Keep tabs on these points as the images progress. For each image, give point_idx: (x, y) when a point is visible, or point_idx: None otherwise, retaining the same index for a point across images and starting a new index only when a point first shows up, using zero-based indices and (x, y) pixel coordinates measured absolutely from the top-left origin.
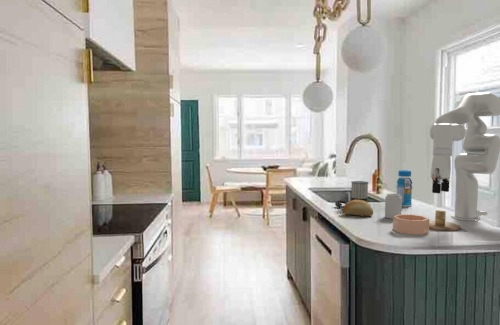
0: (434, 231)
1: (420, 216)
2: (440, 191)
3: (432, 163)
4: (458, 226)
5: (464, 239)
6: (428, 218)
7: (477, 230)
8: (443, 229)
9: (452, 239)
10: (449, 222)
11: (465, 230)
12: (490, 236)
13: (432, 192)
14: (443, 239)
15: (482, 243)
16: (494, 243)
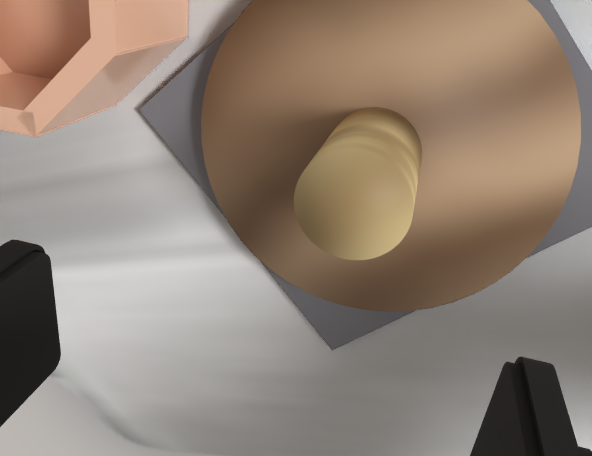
0: (164, 139)
1: (92, 19)
2: (35, 385)
3: None
4: (385, 297)
5: (120, 323)
6: (41, 125)
7: (458, 395)
8: (221, 201)
9: (68, 266)
10: (549, 216)
11: (352, 331)
12: (305, 446)
13: (17, 241)
14: (27, 221)
15: (103, 398)
16: (147, 444)
